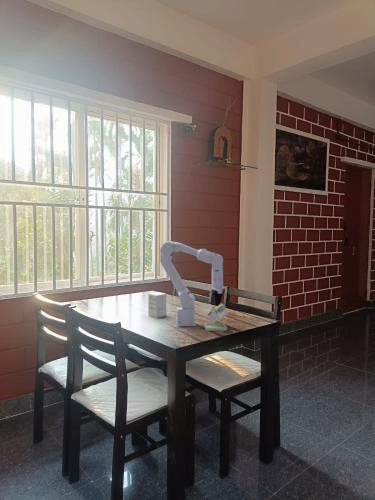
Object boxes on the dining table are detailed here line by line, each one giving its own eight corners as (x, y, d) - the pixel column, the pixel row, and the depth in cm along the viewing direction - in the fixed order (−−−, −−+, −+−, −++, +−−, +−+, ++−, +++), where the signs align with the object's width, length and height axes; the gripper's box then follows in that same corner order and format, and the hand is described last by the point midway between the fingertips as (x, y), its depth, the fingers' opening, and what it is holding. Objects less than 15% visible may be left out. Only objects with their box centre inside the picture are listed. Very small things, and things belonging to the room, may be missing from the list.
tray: (206, 330, 177) (206, 327, 177) (203, 325, 186) (203, 322, 186) (226, 330, 178) (226, 327, 178) (223, 325, 187) (223, 322, 187)
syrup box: (215, 308, 191) (221, 302, 178) (222, 317, 190) (229, 311, 176) (206, 314, 189) (212, 308, 176) (213, 324, 188) (220, 318, 175)
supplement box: (158, 313, 209) (158, 291, 208) (166, 316, 203) (166, 293, 203) (147, 315, 204) (148, 293, 203) (156, 318, 198) (156, 295, 197)
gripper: (228, 280, 177) (228, 308, 178) (222, 276, 191) (222, 302, 192) (213, 280, 176) (214, 308, 177) (208, 276, 190) (209, 302, 191)
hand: (217, 305), depth 184 cm, fingers closed
